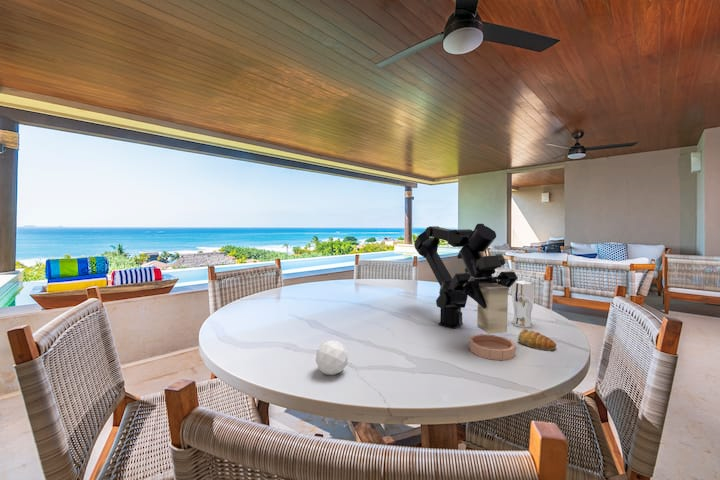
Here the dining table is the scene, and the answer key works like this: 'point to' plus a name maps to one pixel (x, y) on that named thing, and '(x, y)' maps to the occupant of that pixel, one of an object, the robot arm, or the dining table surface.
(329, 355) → the geometric ball
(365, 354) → the dining table surface
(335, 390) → the dining table surface
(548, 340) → the pastry
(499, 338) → the terracotta bowl
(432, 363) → the dining table surface
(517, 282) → the beer glass
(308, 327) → the dining table surface
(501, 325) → the lidded square box
